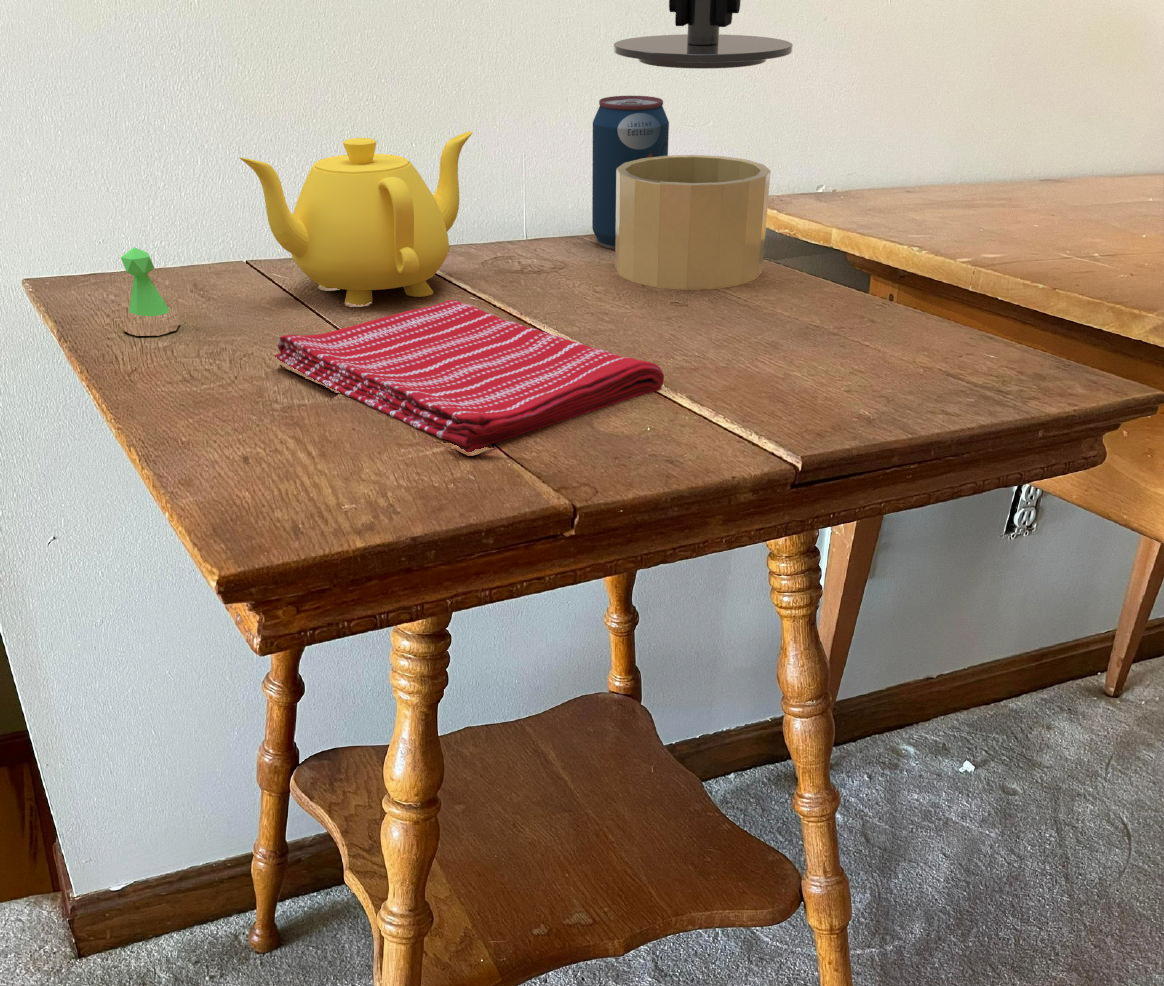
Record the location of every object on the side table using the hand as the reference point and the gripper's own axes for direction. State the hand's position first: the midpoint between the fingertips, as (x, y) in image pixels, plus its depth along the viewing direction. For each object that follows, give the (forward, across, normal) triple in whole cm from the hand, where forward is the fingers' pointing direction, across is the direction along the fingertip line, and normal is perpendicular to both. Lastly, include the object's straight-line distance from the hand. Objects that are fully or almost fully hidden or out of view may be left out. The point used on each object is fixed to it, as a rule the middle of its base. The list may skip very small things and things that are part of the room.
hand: (703, 22), depth 90 cm
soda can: (+19, -9, +14) cm, 25 cm away
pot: (+19, -1, +3) cm, 19 cm away
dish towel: (+19, -10, -28) cm, 35 cm away
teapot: (+19, -25, -8) cm, 33 cm away
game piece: (+19, -38, -22) cm, 48 cm away
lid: (+2, 0, 0) cm, 2 cm away
